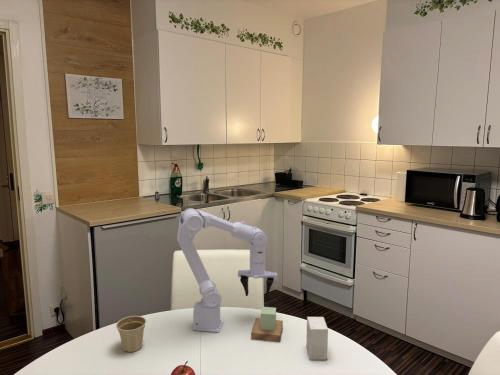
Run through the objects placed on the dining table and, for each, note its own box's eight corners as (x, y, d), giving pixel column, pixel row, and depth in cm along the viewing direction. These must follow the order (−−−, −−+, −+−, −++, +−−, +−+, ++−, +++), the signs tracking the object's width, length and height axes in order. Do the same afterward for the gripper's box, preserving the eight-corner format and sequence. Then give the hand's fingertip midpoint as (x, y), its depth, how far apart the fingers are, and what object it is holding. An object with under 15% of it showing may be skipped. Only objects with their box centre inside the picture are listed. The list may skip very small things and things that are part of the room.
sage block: (260, 329, 131) (260, 313, 130) (261, 322, 136) (262, 306, 135) (274, 330, 130) (275, 314, 129) (275, 323, 135) (276, 307, 134)
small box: (327, 360, 118) (328, 329, 116) (309, 360, 118) (310, 329, 116) (322, 345, 126) (324, 316, 124) (306, 345, 126) (307, 316, 124)
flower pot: (112, 347, 124) (110, 323, 123) (137, 335, 131) (136, 312, 129) (126, 359, 118) (125, 333, 116) (152, 346, 125) (151, 322, 123)
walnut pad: (251, 340, 129) (251, 332, 129) (255, 325, 139) (255, 318, 138) (280, 343, 128) (280, 335, 127) (282, 328, 137) (282, 320, 137)
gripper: (236, 263, 136) (236, 298, 138) (276, 266, 134) (275, 302, 136) (239, 257, 143) (239, 290, 145) (277, 259, 141) (277, 293, 143)
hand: (257, 295), depth 141 cm, fingers open, 7 cm apart
